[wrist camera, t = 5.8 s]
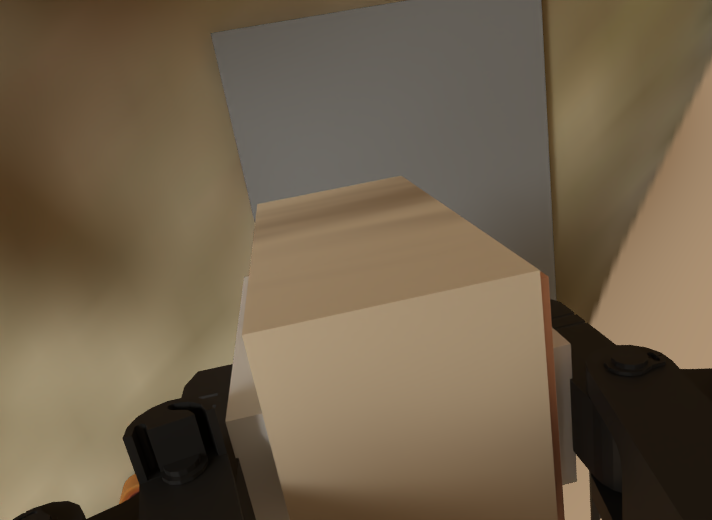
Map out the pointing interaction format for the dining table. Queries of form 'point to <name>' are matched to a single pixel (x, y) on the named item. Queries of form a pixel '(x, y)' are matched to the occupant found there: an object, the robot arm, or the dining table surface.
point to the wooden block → (401, 361)
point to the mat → (401, 109)
